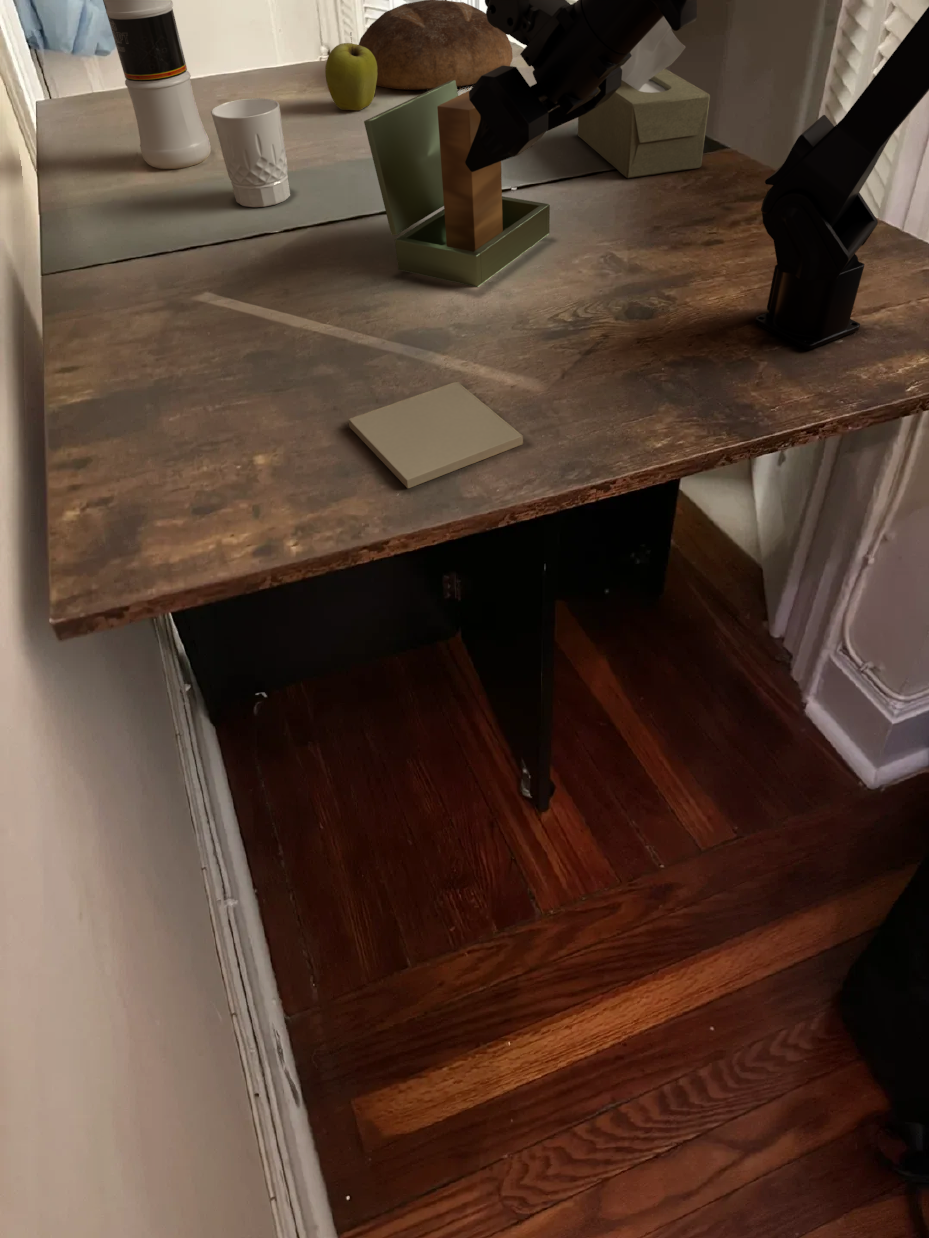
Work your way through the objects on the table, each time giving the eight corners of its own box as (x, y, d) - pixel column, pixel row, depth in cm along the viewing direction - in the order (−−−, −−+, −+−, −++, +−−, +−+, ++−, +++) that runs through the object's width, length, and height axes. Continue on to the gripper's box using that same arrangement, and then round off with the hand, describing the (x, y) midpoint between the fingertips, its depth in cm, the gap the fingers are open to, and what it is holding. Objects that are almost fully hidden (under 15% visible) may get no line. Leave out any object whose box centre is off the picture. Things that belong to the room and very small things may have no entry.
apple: (316, 98, 136) (325, 23, 130) (366, 108, 139) (377, 35, 133) (326, 111, 130) (336, 34, 124) (377, 122, 133) (389, 46, 127)
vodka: (202, 170, 118) (130, -122, 96) (136, 172, 118) (49, -116, 97) (220, 147, 124) (156, -130, 103) (157, 150, 125) (80, -125, 104)
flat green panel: (455, 80, 89) (450, 80, 89) (369, 120, 80) (363, 121, 81) (474, 187, 95) (469, 187, 96) (396, 235, 87) (391, 235, 87)
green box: (549, 240, 94) (549, 204, 92) (477, 294, 86) (476, 256, 83) (474, 226, 98) (472, 191, 96) (398, 277, 90) (394, 239, 87)
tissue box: (702, 169, 107) (722, 15, 96) (627, 180, 106) (638, 25, 95) (644, 126, 121) (655, -14, 109) (576, 135, 119) (581, -5, 108)
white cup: (218, 205, 108) (196, 114, 101) (257, 183, 112) (239, 95, 105) (270, 213, 105) (251, 120, 98) (307, 190, 110) (292, 101, 103)
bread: (374, 104, 135) (366, 29, 129) (345, 65, 154) (336, -3, 147) (534, 82, 139) (534, 8, 133) (486, 47, 158) (484, -20, 151)
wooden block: (503, 244, 92) (499, 94, 83) (475, 263, 89) (468, 110, 79) (475, 238, 94) (468, 90, 84) (447, 257, 91) (436, 106, 81)
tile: (523, 444, 67) (523, 435, 66) (407, 489, 64) (406, 480, 63) (457, 389, 73) (457, 381, 73) (349, 427, 70) (348, 418, 69)
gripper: (599, -85, 75) (492, 54, 87) (485, -47, 64) (381, 105, 76) (674, 30, 77) (560, 150, 90) (577, 85, 66) (462, 213, 79)
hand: (494, 152), depth 84 cm, fingers open, 9 cm apart
